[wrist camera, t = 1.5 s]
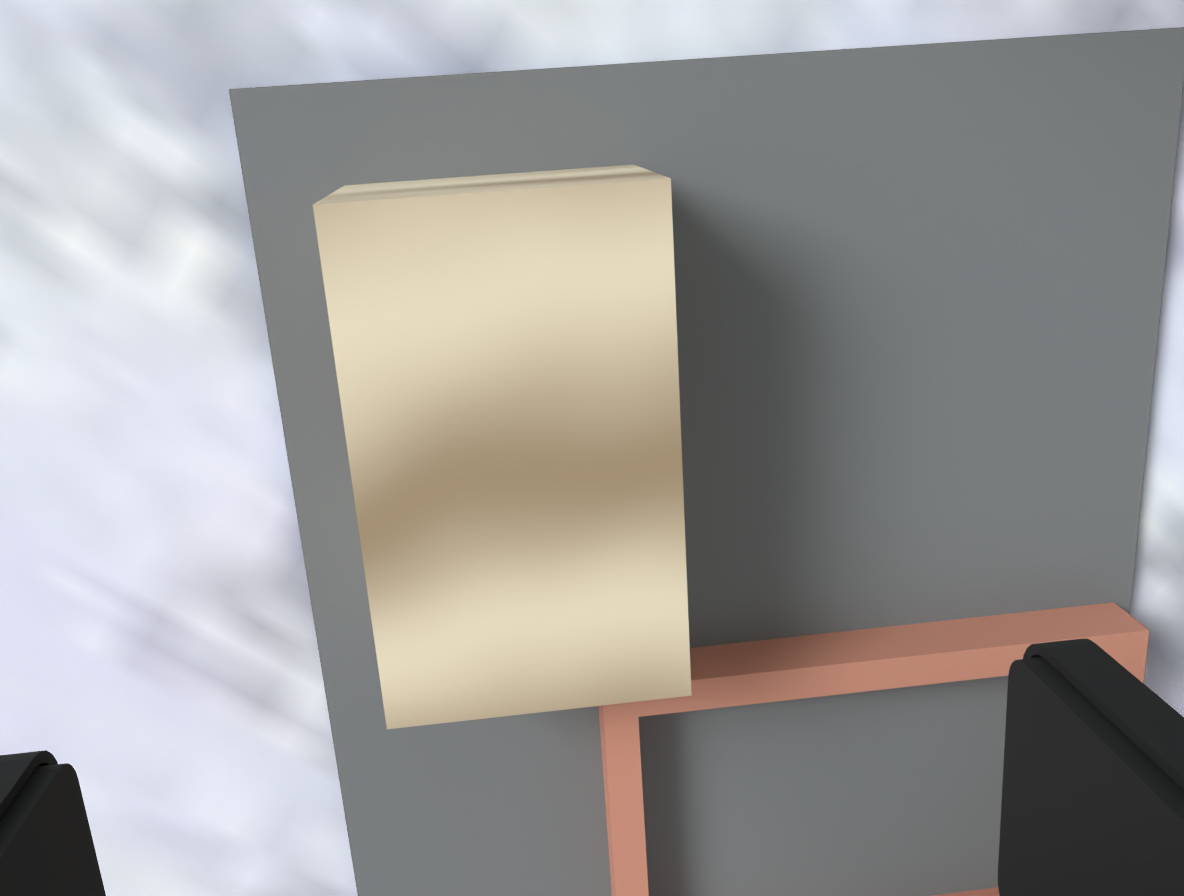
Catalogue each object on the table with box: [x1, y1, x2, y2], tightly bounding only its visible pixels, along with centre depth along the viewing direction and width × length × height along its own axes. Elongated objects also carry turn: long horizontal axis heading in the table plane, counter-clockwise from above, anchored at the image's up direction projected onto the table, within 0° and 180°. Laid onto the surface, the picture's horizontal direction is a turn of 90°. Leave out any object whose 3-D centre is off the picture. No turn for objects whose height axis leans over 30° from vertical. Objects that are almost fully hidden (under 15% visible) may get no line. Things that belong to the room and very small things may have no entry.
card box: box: [313, 165, 692, 729], centre depth 22 cm, size 10×6×4 cm, turn 4°
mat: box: [229, 27, 1184, 896], centre depth 25 cm, size 25×20×2 cm
